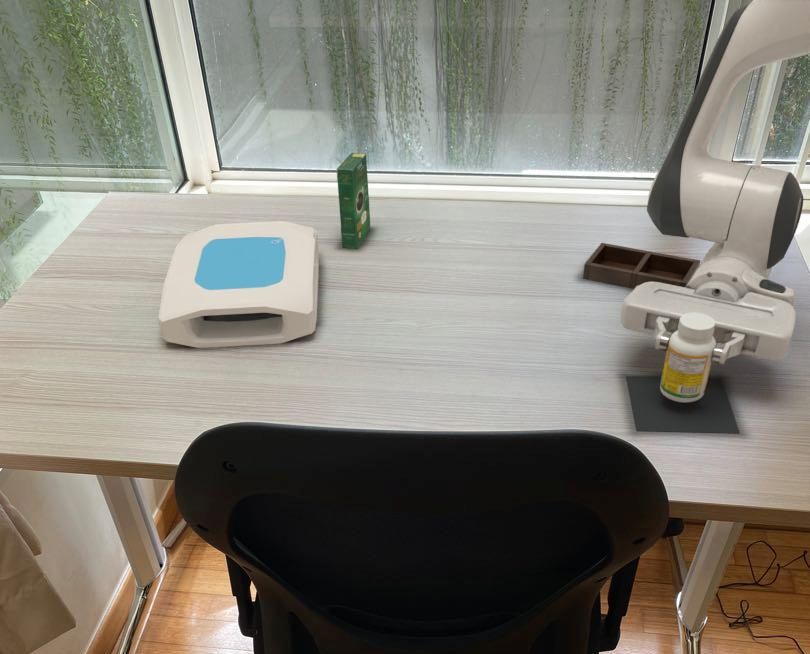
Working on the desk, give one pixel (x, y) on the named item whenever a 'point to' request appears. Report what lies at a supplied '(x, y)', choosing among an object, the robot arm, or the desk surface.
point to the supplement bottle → (689, 358)
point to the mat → (680, 408)
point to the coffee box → (353, 200)
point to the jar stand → (637, 267)
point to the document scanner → (241, 284)
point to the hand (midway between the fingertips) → (689, 351)
